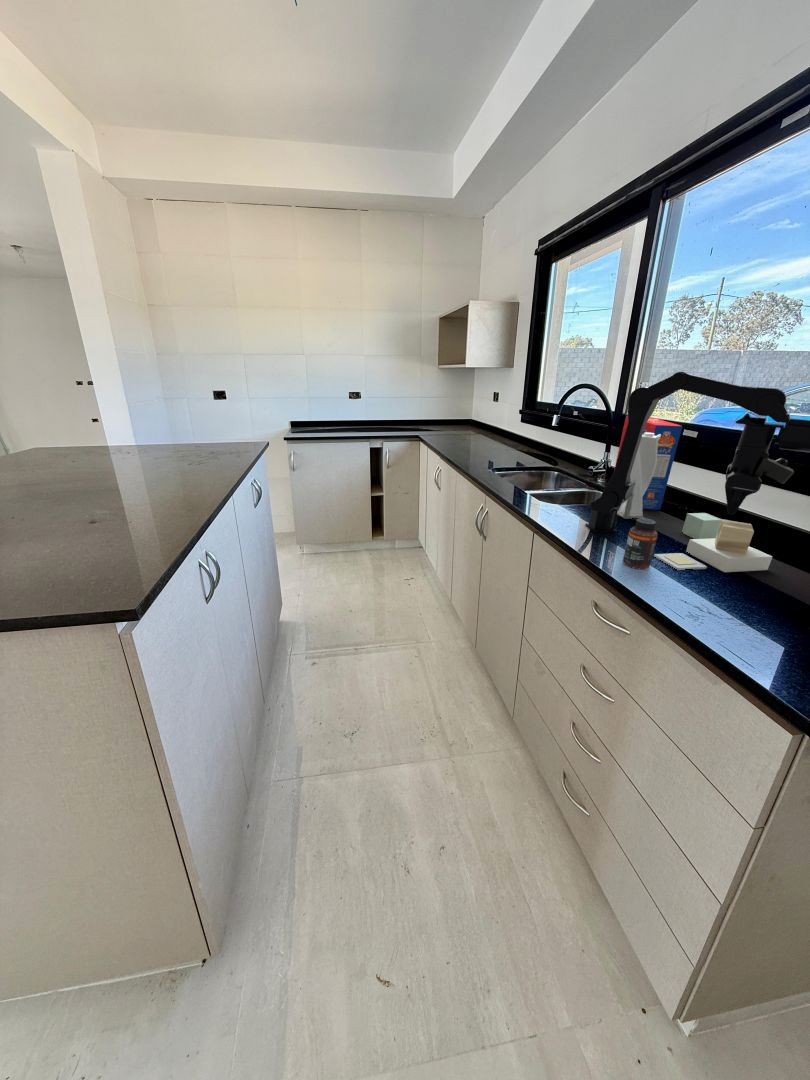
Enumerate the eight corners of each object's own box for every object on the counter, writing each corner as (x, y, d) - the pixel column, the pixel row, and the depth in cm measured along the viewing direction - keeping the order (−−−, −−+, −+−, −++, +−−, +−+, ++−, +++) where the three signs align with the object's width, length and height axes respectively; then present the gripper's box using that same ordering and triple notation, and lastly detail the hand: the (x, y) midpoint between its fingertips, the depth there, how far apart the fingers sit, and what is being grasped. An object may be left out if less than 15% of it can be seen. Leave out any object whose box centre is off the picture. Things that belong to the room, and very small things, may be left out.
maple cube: (745, 554, 102) (754, 531, 100) (715, 548, 105) (723, 526, 103) (743, 546, 107) (751, 524, 105) (714, 541, 110) (721, 519, 108)
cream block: (723, 573, 102) (729, 558, 100) (685, 553, 112) (689, 539, 111) (766, 571, 103) (772, 556, 102) (724, 551, 114) (729, 537, 113)
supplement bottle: (647, 561, 106) (658, 518, 101) (651, 571, 100) (663, 526, 96) (620, 557, 107) (630, 515, 103) (623, 567, 102) (634, 522, 98)
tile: (676, 570, 101) (677, 567, 101) (653, 556, 109) (654, 553, 108) (706, 568, 103) (707, 565, 102) (681, 555, 110) (682, 552, 110)
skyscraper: (610, 511, 144) (629, 425, 133) (632, 511, 145) (653, 426, 134) (624, 519, 136) (646, 429, 126) (648, 519, 137) (671, 430, 127)
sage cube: (697, 540, 120) (703, 520, 118) (681, 532, 126) (687, 513, 124) (716, 539, 121) (722, 519, 119) (699, 532, 127) (705, 513, 125)
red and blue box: (610, 487, 173) (626, 415, 162) (631, 488, 172) (648, 416, 161) (635, 508, 147) (655, 424, 136) (660, 510, 146) (682, 426, 135)
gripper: (804, 457, 87) (775, 528, 93) (794, 445, 102) (770, 508, 108) (737, 449, 93) (714, 516, 99) (737, 439, 107) (717, 499, 113)
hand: (730, 509), depth 105 cm, fingers open, 9 cm apart
